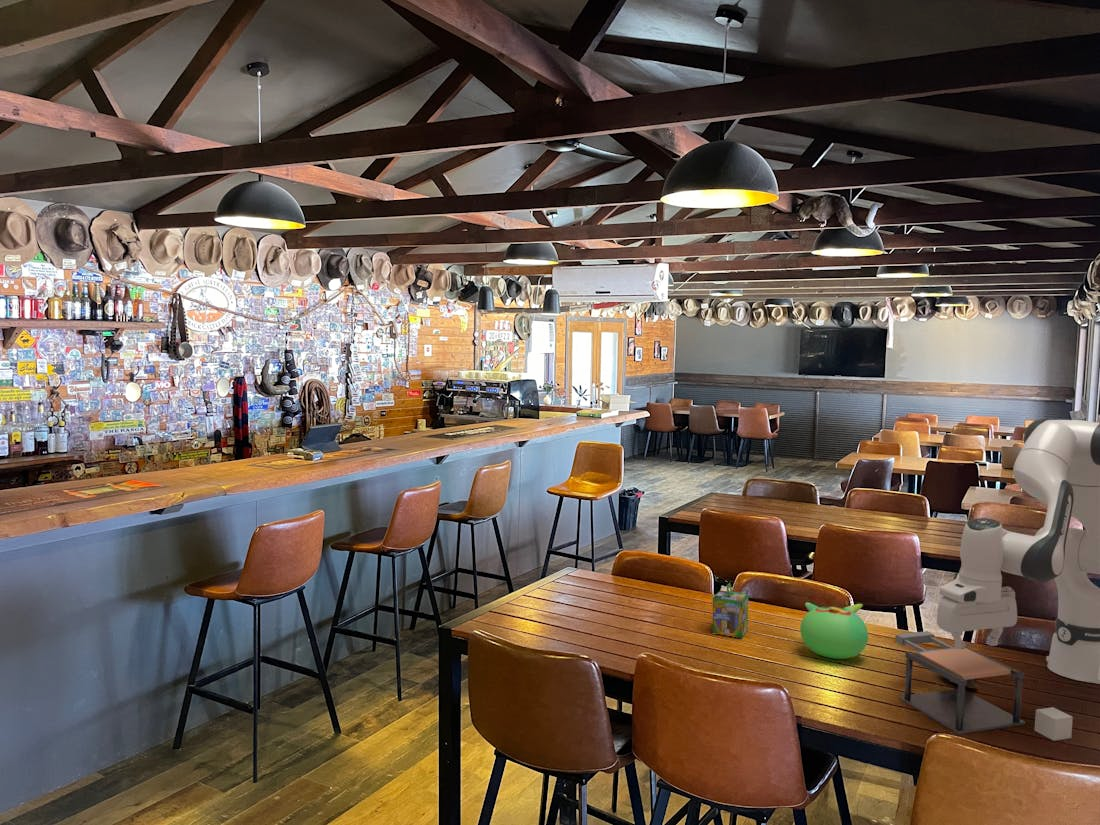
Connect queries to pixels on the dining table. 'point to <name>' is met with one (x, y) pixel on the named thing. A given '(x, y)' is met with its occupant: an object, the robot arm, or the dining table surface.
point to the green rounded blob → (834, 631)
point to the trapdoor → (952, 657)
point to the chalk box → (730, 613)
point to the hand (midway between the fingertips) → (976, 646)
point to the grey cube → (1053, 723)
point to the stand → (961, 701)
